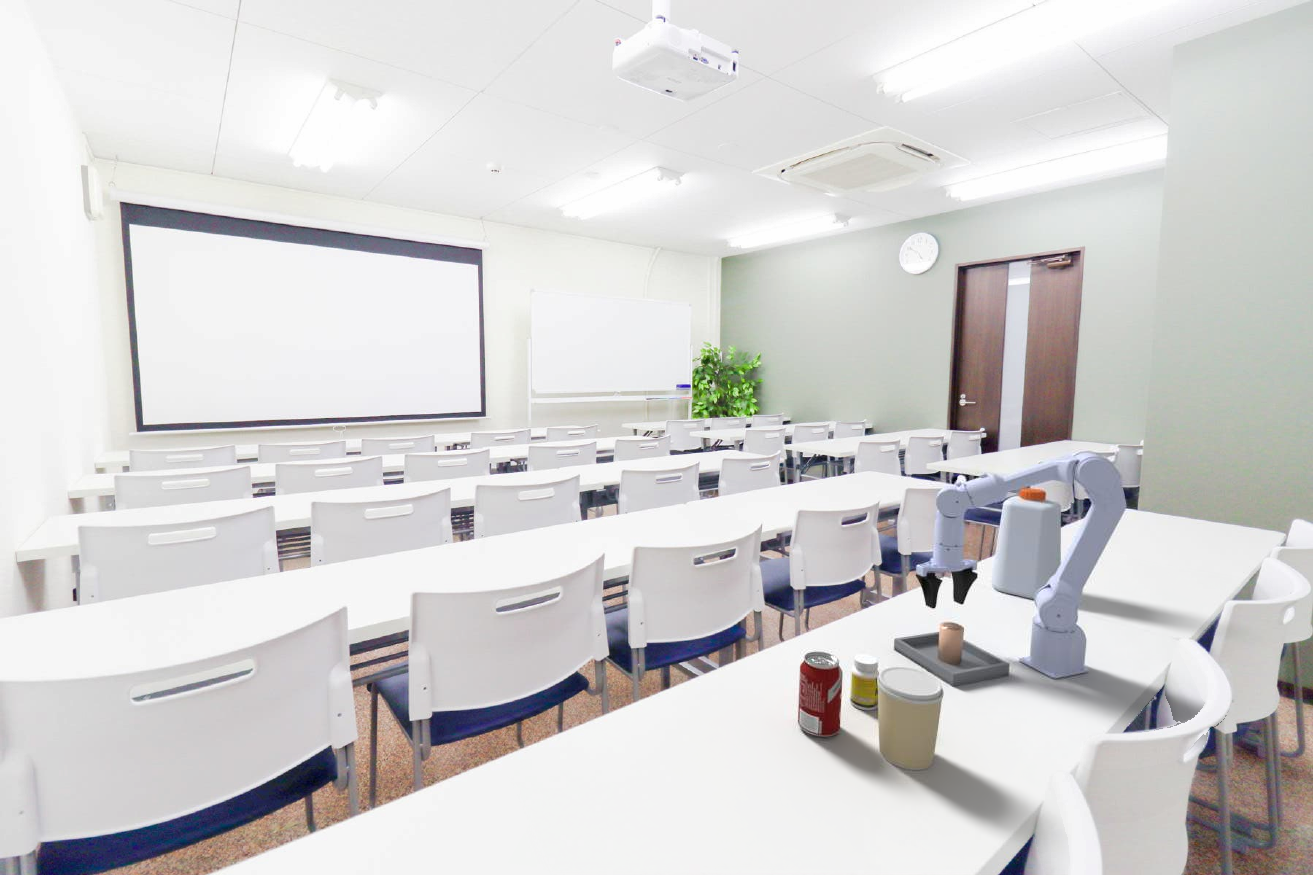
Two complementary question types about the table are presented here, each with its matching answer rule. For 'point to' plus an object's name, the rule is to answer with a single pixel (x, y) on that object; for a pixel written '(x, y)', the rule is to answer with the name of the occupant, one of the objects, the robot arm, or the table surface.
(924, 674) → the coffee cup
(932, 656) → the tray
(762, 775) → the table surface
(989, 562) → the table surface
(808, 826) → the table surface
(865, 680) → the supplement bottle
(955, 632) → the peach cylinder
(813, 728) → the soda can
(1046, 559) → the plastic bottle
